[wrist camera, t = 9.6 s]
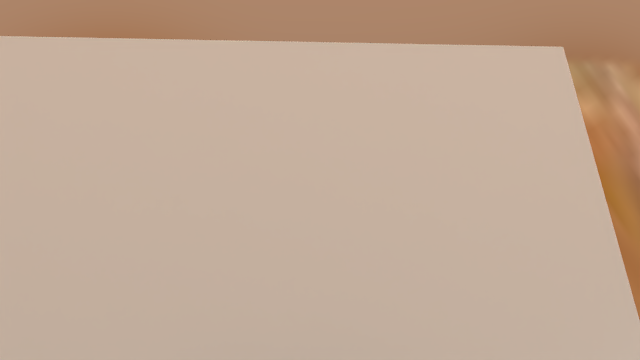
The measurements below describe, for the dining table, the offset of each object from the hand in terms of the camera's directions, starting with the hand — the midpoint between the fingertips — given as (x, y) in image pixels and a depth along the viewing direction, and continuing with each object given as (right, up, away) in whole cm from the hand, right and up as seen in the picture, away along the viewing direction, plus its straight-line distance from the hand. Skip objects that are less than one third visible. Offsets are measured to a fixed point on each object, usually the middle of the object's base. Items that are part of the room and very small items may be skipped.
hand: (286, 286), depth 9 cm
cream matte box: (0, -4, +5) cm, 6 cm away
